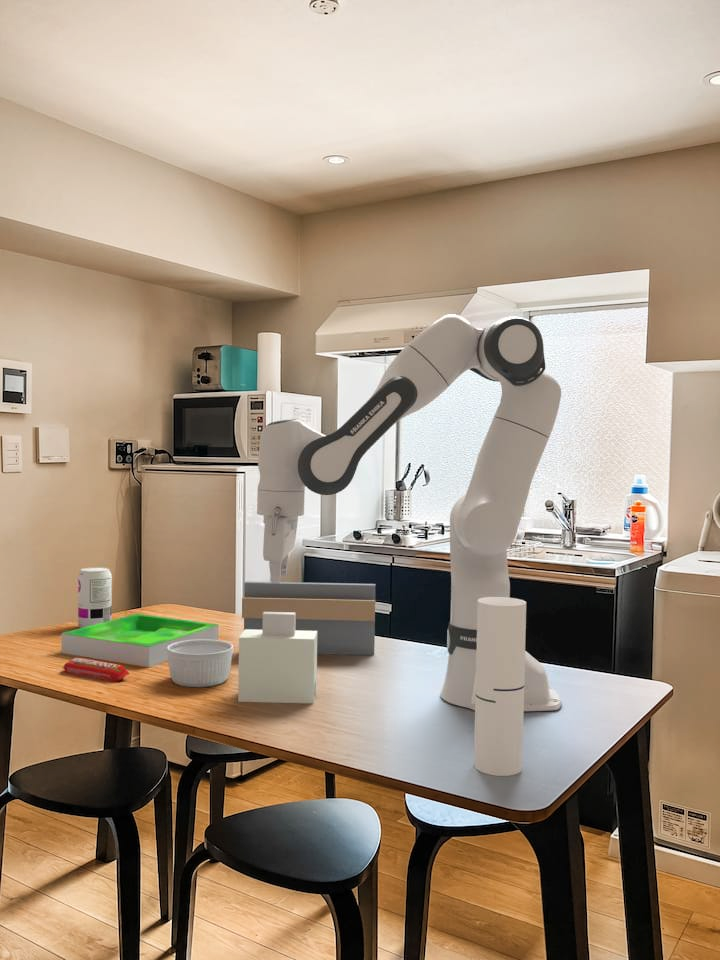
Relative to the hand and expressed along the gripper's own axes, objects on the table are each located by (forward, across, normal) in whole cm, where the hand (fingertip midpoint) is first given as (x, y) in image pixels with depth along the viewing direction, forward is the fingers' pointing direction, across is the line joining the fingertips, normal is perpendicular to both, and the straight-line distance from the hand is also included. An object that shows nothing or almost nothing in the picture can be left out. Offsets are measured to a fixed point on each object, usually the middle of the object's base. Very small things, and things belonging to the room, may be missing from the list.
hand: (278, 578), depth 157 cm
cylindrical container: (+22, -32, -38) cm, 54 cm away
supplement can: (+24, +55, +53) cm, 80 cm away
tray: (+24, +35, +35) cm, 55 cm away
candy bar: (+24, +12, +38) cm, 46 cm away
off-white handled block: (+22, 0, 0) cm, 23 cm away
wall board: (+22, +34, -4) cm, 41 cm away
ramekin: (+23, +10, +16) cm, 30 cm away
